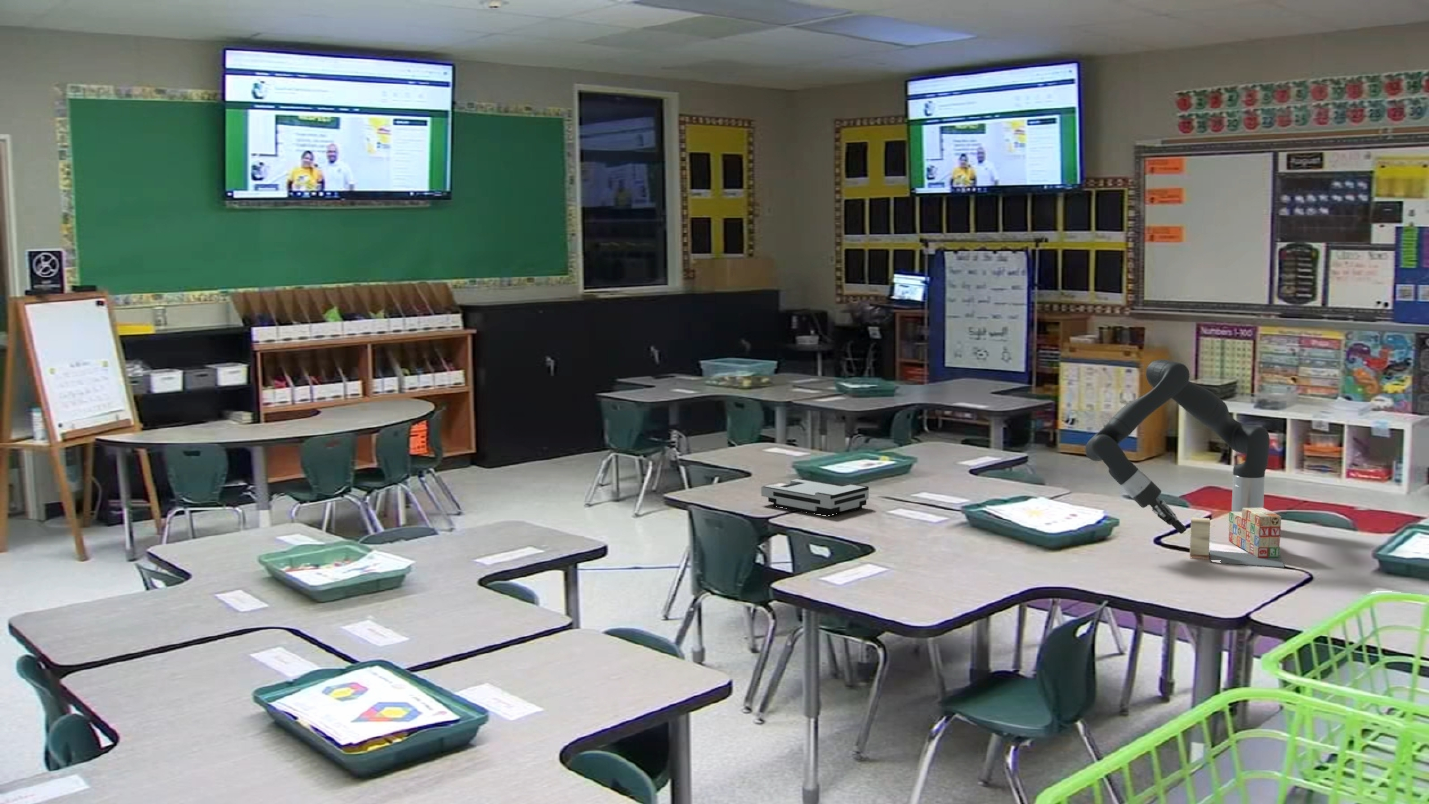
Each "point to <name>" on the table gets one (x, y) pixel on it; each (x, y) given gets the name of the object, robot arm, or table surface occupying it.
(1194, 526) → the maple block
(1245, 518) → the stack of blocks
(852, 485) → the gray game console
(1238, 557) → the mat
